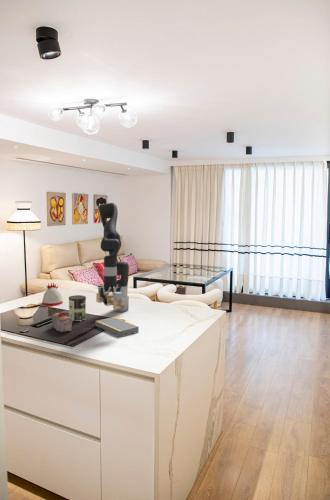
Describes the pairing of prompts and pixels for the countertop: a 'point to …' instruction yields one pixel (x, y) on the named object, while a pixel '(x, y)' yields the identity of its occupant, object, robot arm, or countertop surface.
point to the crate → (118, 295)
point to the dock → (117, 326)
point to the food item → (61, 322)
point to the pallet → (111, 301)
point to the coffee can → (77, 307)
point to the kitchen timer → (52, 296)
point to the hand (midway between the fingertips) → (110, 303)
